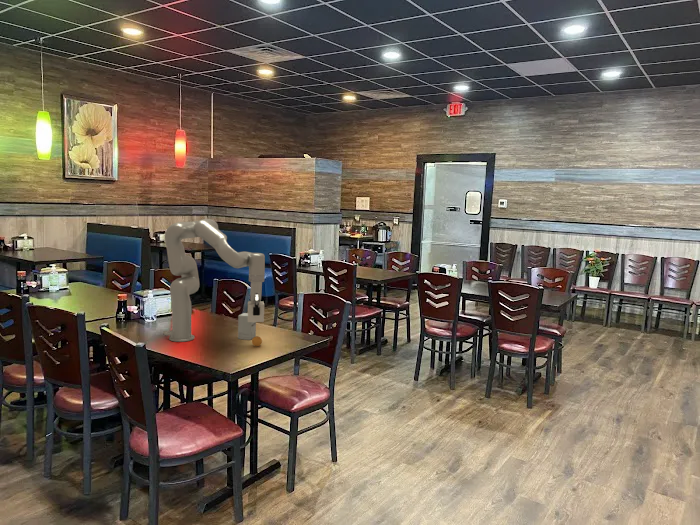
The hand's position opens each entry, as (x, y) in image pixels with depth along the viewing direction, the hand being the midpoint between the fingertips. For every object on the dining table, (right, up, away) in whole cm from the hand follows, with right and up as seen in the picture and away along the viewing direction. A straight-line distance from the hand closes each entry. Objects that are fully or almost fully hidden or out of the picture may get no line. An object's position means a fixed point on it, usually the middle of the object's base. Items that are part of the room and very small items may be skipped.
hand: (256, 313), depth 270 cm
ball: (0, -14, +2) cm, 14 cm away
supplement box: (-8, -15, +18) cm, 24 cm away
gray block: (0, -4, 0) cm, 4 cm away
